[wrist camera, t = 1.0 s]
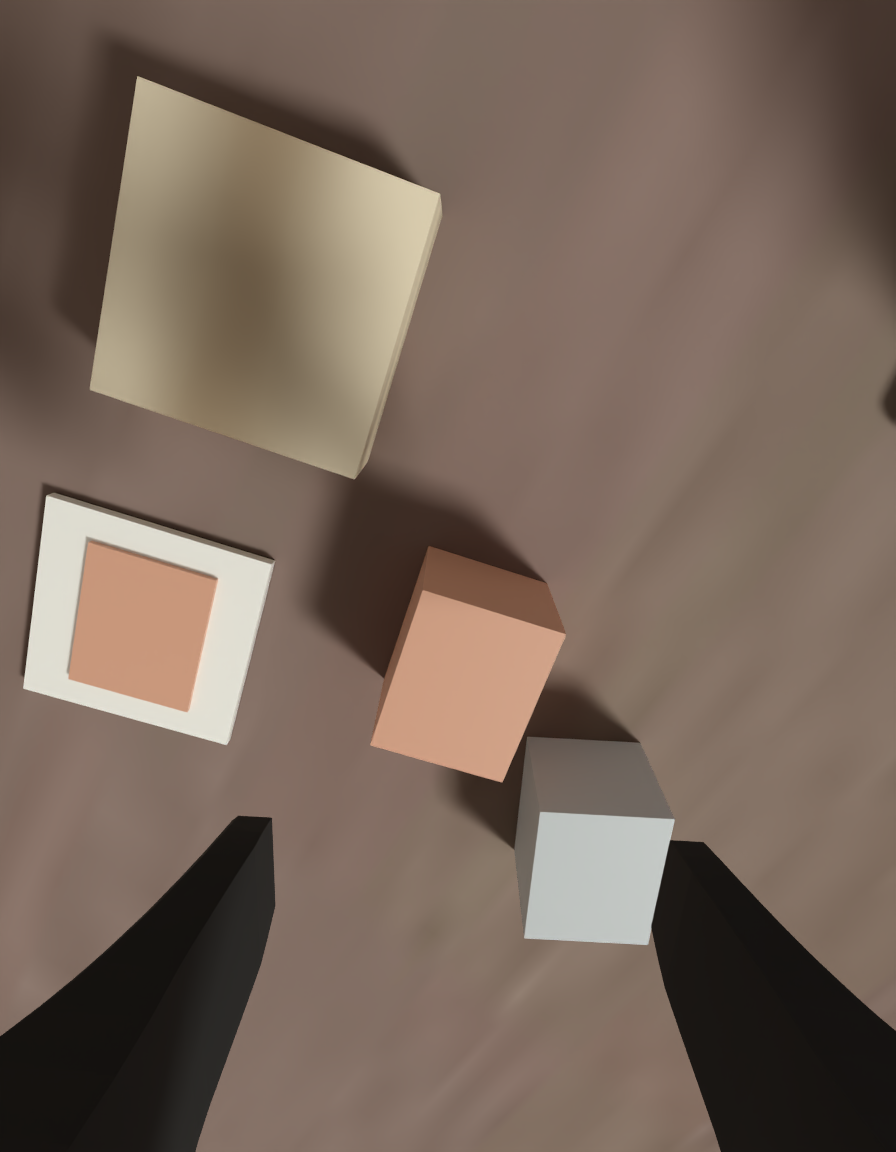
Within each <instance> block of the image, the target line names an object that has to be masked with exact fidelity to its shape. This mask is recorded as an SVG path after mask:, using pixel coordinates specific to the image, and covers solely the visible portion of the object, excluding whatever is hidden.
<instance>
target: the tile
mask: <svg viewBox="0 0 896 1152" xmlns="http://www.w3.org/2000/svg"><path fill="white" fill-rule="evenodd" d="M274 563H275V560H272V559H269V558H265V557H262V556H259V555H256V554H252V553H249V552H246V551H243V550H239V549H236V548H233V547H230V546H226V545H223V544H220V543H217V542H213V541H210V540H207V539H203V538H200V537H197V536H194V535H190V534H187V533H184V532H181V531H177V530H174V529H171V528H168V527H164V526H161V525H158V524H155V523H151V522H148V521H145V520H142V519H138V518H135V517H132V516H129V515H125V514H122V513H119V512H116V511H112V510H109V509H106V508H103V507H99V506H96V505H93V504H90V503H86V502H83V501H80V500H77V499H73V498H70V497H67V496H64V495H60V494H57V493H51V494H49V495H46V502H45V511H44V519H43V528H42V536H41V544H40V553H39V561H38V569H37V578H36V586H35V595H34V603H33V611H32V620H31V628H30V637H29V645H28V653H27V662H26V670H25V678H24V687H23V689H27V690H30V691H34V692H38V693H41V694H45V695H48V696H52V697H56V698H59V699H63V700H66V701H70V702H74V703H77V704H81V705H84V706H88V707H92V708H95V709H99V710H102V711H106V712H110V713H113V714H117V715H120V716H124V717H128V718H131V719H135V720H138V721H142V722H146V723H149V724H153V725H156V726H160V727H164V728H167V729H171V730H174V731H178V732H182V733H185V734H189V735H192V736H196V737H200V738H203V739H207V740H210V741H214V742H218V743H221V744H225V745H227V744H228V742H229V740H230V738H231V735H232V731H233V727H234V723H235V719H236V715H237V711H238V707H239V703H240V699H241V695H242V691H243V687H244V683H245V679H246V675H247V671H248V667H249V663H250V659H251V655H252V651H253V647H254V643H255V639H256V635H257V631H258V627H259V623H260V619H261V615H262V611H263V607H264V603H265V599H266V595H267V591H268V587H269V583H270V579H271V575H272V571H273V567H274Z"/></svg>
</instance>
